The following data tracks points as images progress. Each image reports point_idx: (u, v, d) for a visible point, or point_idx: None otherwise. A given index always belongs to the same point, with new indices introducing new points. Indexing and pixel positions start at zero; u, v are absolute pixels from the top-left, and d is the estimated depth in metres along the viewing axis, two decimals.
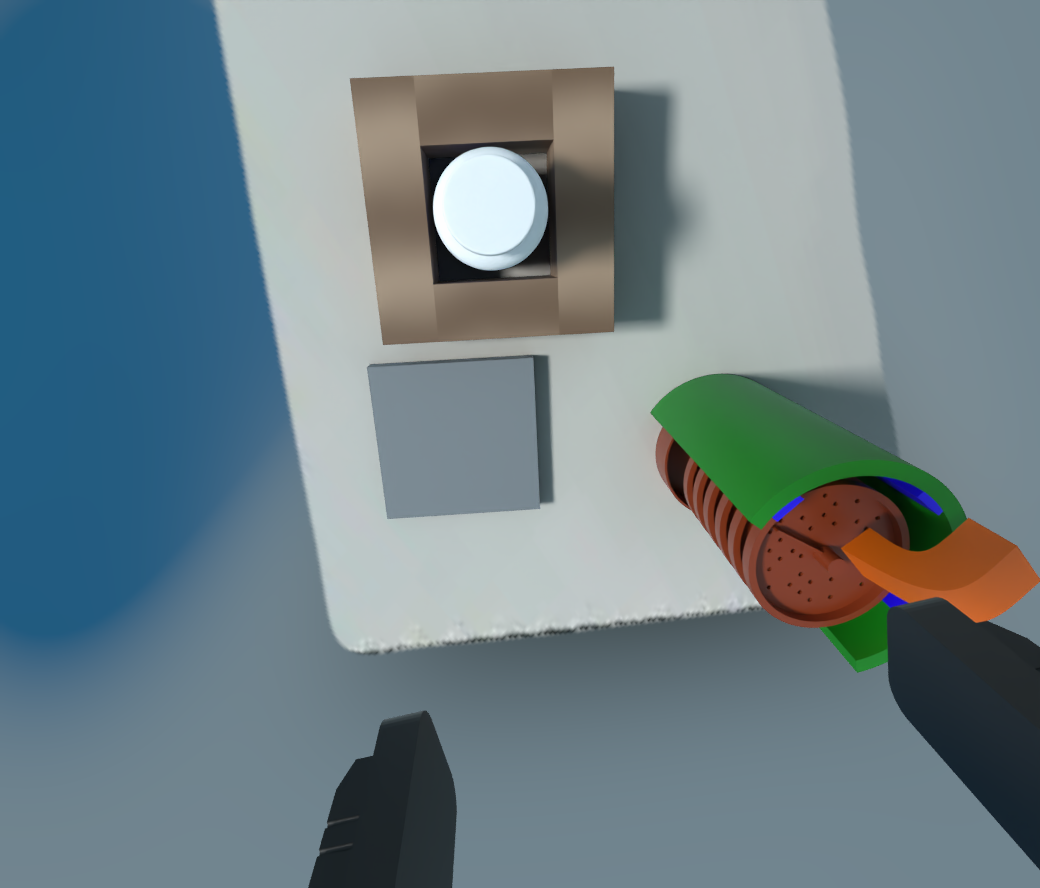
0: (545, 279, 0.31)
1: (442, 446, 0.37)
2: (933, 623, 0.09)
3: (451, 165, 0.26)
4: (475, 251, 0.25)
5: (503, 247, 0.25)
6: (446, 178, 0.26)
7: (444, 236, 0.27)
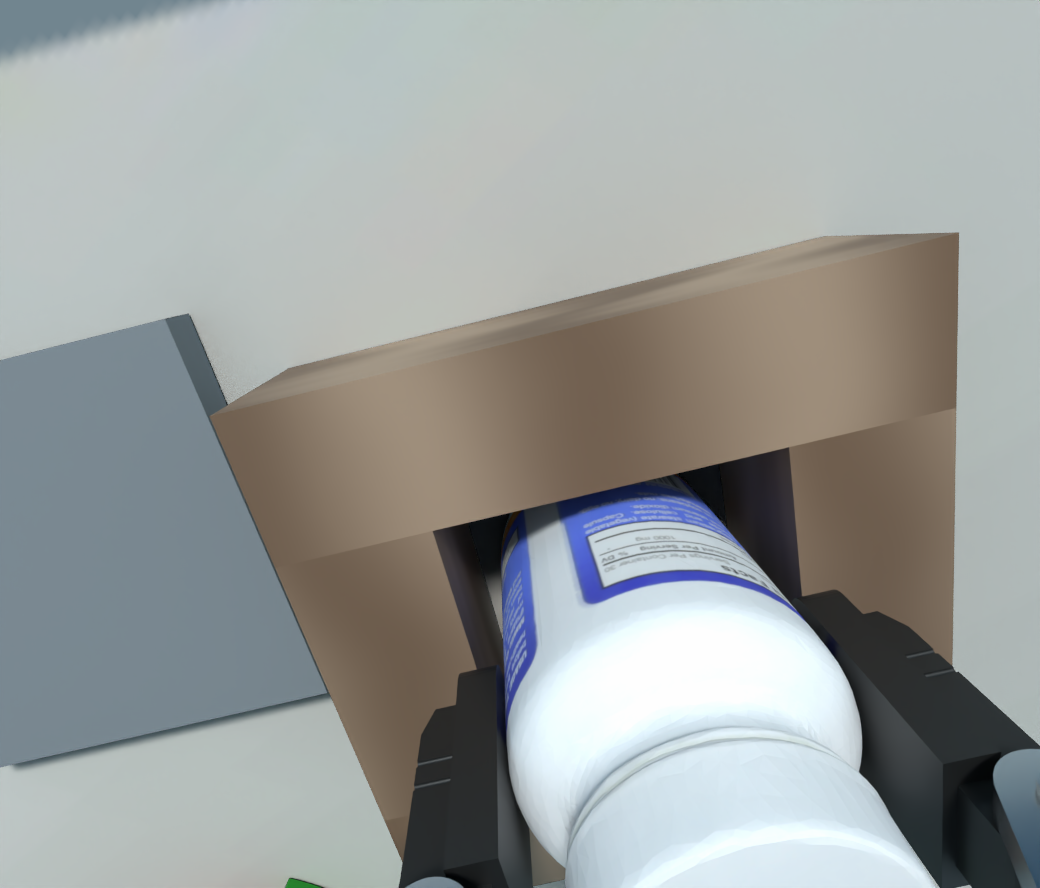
0: None
1: (23, 543, 0.14)
2: (824, 613, 0.09)
3: (813, 657, 0.08)
4: None
5: None
6: (779, 661, 0.08)
7: (595, 680, 0.08)
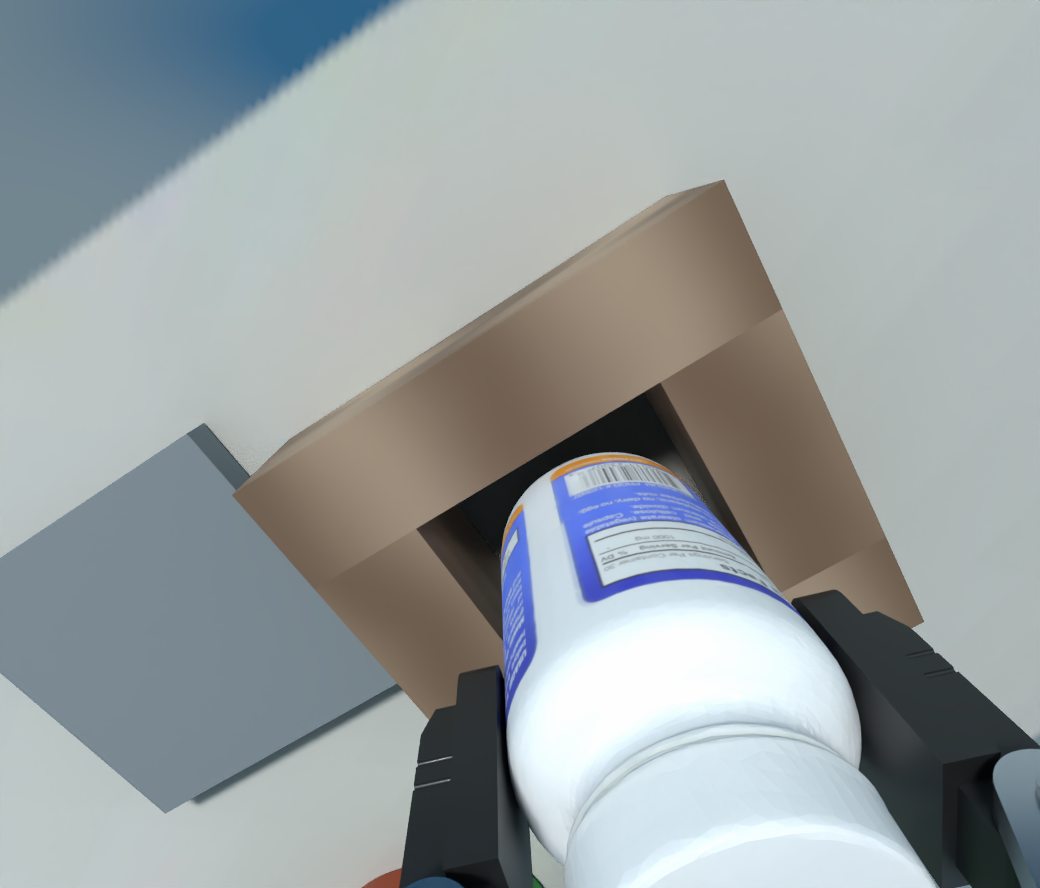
0: None
1: (145, 628, 0.18)
2: (824, 613, 0.09)
3: (812, 655, 0.08)
4: None
5: None
6: (778, 658, 0.08)
7: (594, 677, 0.08)
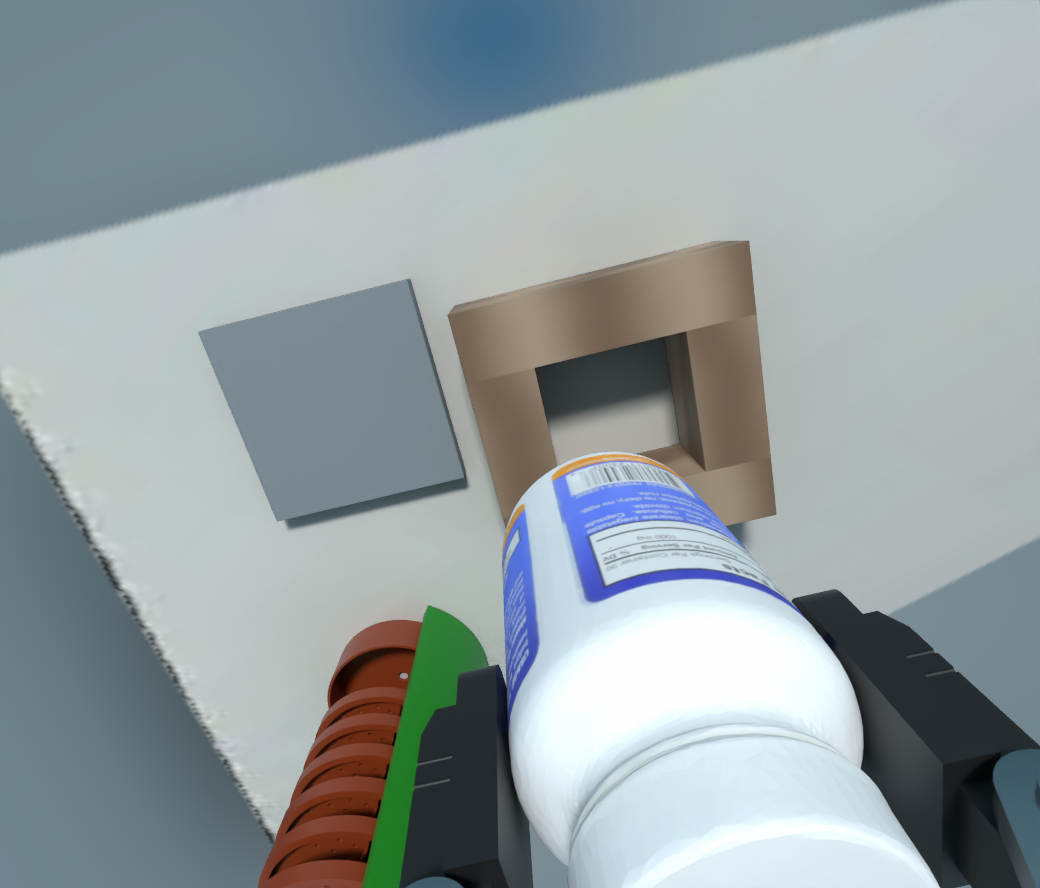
0: None
1: (325, 391, 0.28)
2: (824, 613, 0.09)
3: (814, 654, 0.08)
4: None
5: None
6: (780, 658, 0.08)
7: (597, 676, 0.08)
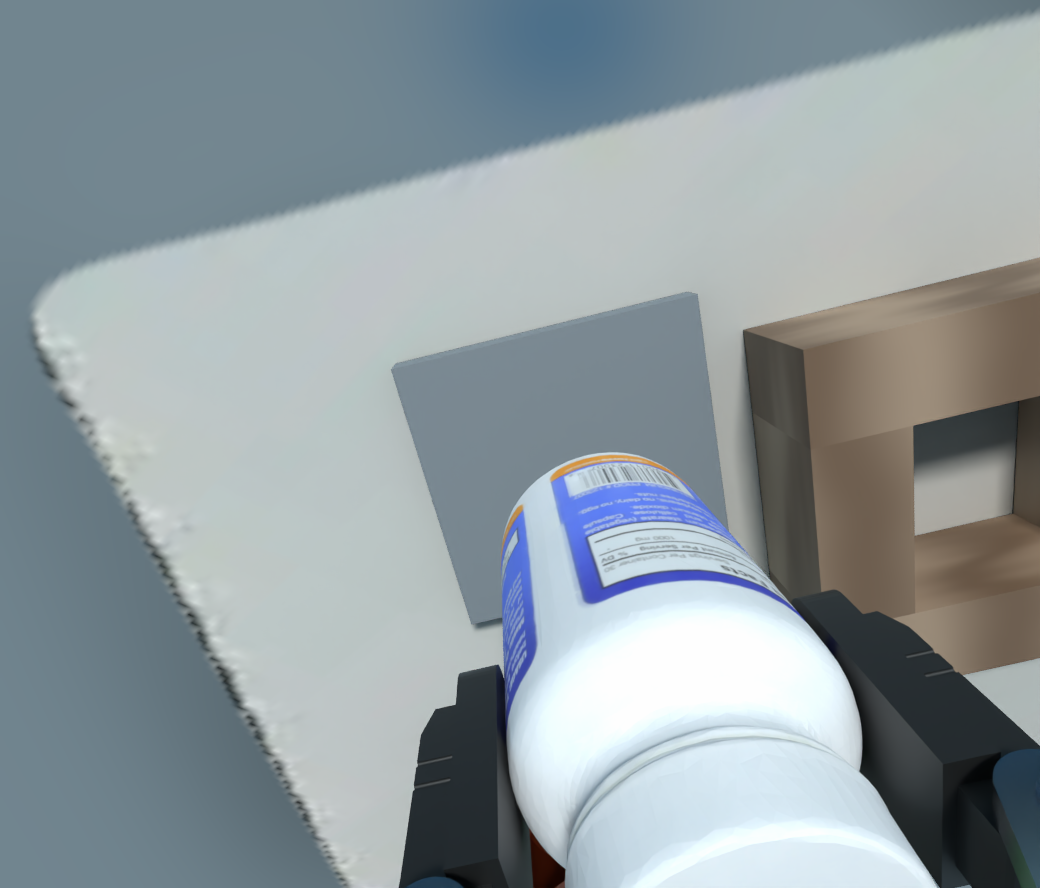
0: (913, 596, 0.19)
1: (560, 450, 0.20)
2: (824, 613, 0.09)
3: (813, 656, 0.08)
4: None
5: None
6: (779, 660, 0.08)
7: (595, 679, 0.08)
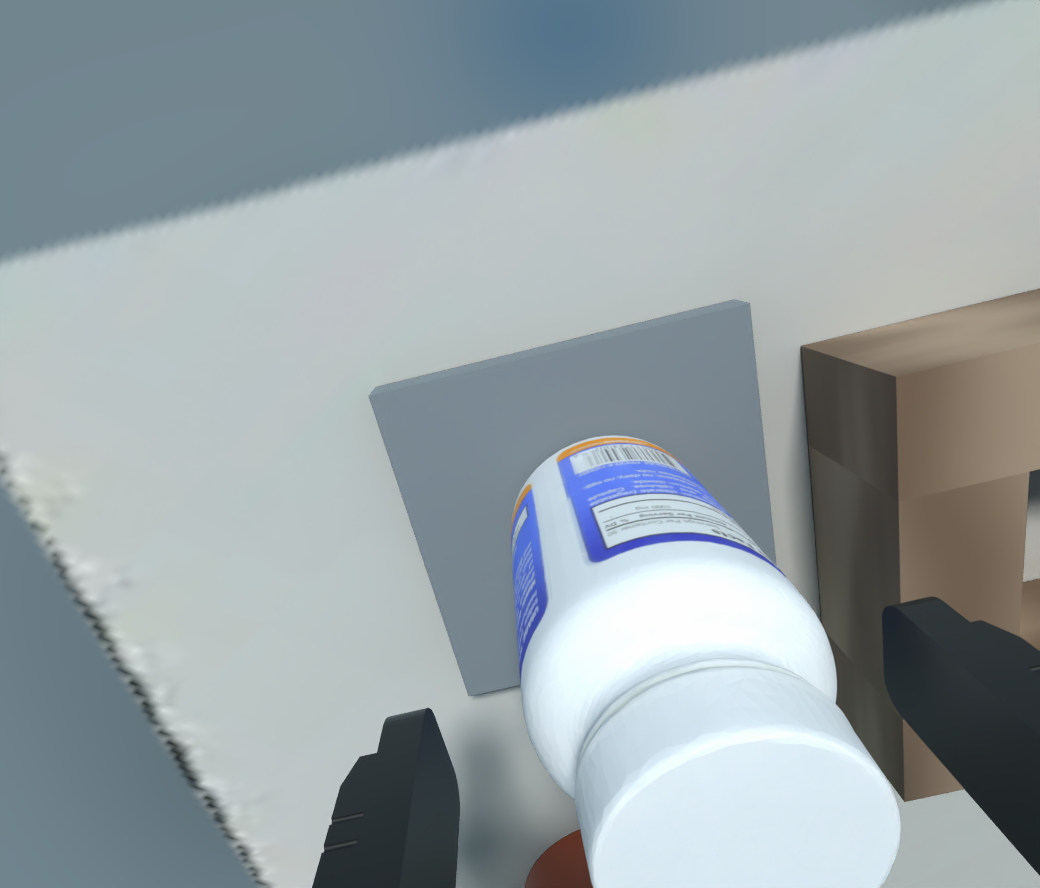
0: None
1: None
2: (928, 622, 0.09)
3: (791, 604, 0.09)
4: (595, 846, 0.07)
5: None
6: (761, 607, 0.09)
7: (601, 624, 0.09)
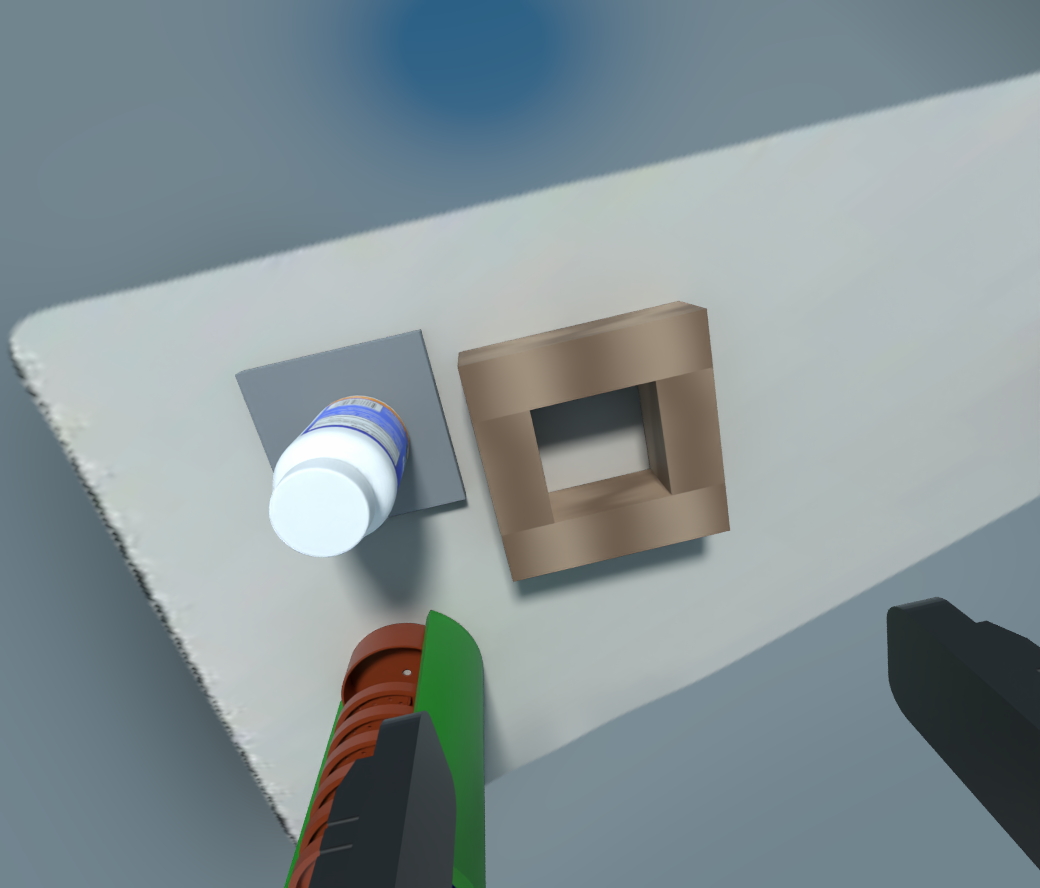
0: (551, 512, 0.32)
1: None
2: (933, 623, 0.09)
3: (364, 447, 0.25)
4: (269, 508, 0.23)
5: (282, 535, 0.23)
6: (349, 446, 0.25)
7: (292, 452, 0.25)
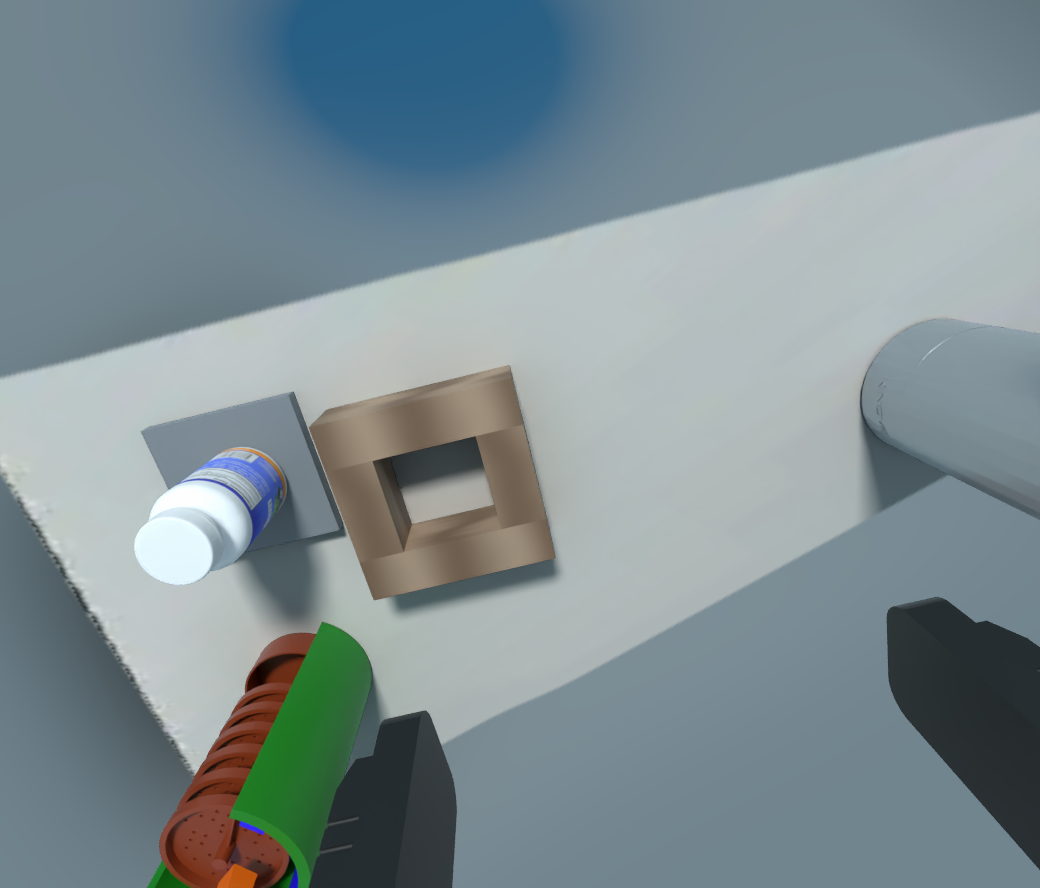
0: (399, 543, 0.38)
1: None
2: (933, 623, 0.09)
3: (218, 497, 0.32)
4: (135, 548, 0.30)
5: (146, 568, 0.30)
6: (204, 497, 0.31)
7: (161, 502, 0.32)
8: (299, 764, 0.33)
